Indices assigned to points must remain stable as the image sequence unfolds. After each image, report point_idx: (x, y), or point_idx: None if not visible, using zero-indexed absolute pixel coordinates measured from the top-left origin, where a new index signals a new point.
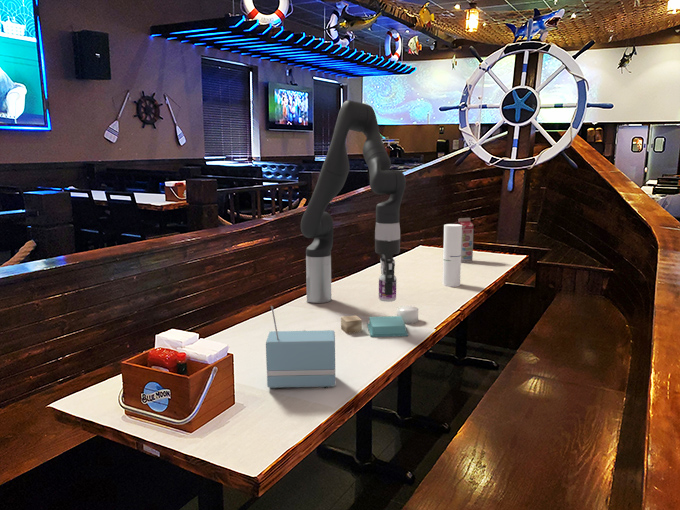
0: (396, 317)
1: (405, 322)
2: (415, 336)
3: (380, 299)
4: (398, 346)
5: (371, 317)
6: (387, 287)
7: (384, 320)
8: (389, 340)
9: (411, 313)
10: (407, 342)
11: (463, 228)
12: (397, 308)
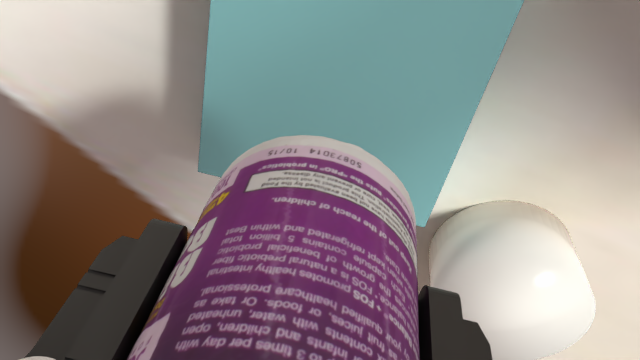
0: None
1: (444, 227)
2: (195, 177)
3: (274, 141)
4: (21, 18)
5: (492, 7)
6: (65, 310)
7: (361, 85)
8: (136, 4)
9: None
10: (95, 98)
11: None
12: (560, 269)
